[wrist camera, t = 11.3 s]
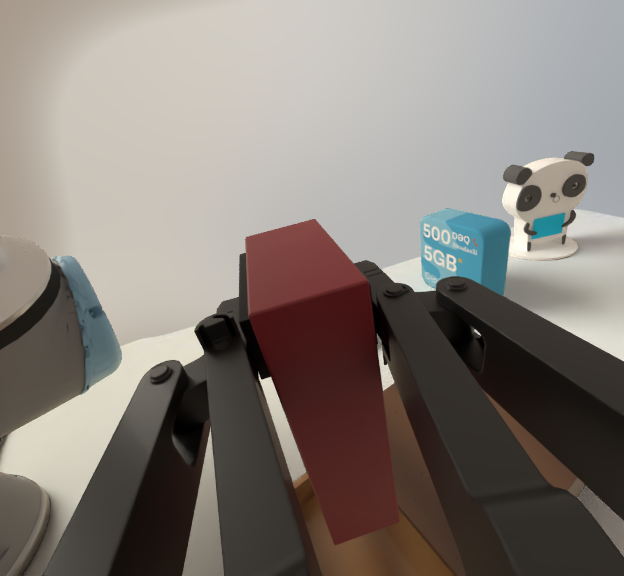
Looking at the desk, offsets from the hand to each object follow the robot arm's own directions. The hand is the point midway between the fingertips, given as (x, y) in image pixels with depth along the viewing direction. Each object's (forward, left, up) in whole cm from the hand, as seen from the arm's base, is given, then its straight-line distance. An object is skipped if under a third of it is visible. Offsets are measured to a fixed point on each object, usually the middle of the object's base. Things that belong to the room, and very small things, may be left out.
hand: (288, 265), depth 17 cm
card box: (+5, -2, -10) cm, 12 cm away
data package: (-11, +32, -22) cm, 40 cm away
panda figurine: (-10, +52, -22) cm, 57 cm away
